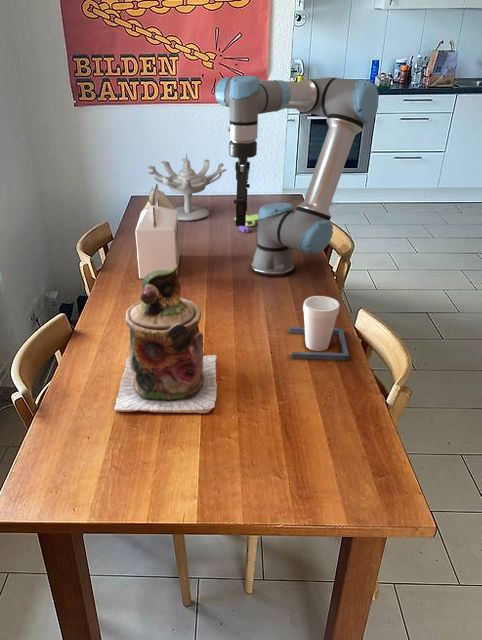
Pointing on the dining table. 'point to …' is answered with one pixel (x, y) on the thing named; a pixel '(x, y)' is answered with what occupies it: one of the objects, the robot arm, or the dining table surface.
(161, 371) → the cookie jar
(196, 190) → the candelabra
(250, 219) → the toy airplane
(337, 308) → the foam cup
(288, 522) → the dining table surface
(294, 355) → the bay
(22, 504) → the dining table surface
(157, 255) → the gable box
